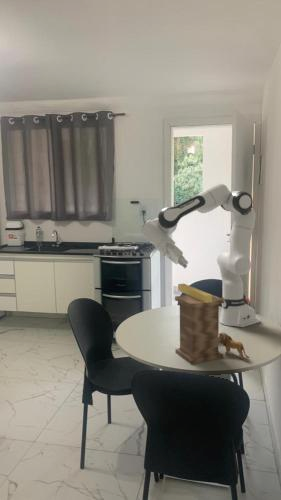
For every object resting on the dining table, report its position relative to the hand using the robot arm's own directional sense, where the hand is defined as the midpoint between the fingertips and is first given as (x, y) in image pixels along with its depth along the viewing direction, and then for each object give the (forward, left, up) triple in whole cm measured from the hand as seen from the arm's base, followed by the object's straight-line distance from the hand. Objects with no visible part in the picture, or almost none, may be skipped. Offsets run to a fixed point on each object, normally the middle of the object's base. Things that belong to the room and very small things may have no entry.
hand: (186, 265), depth 194 cm
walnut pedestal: (+8, +24, -36) cm, 44 cm away
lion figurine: (-6, +30, -36) cm, 47 cm away
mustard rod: (+8, +20, -10) cm, 24 cm away
